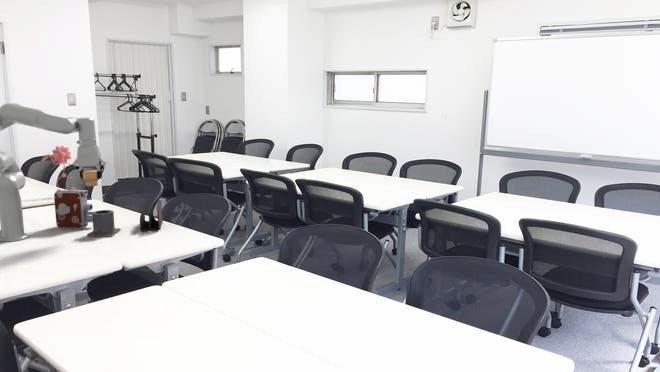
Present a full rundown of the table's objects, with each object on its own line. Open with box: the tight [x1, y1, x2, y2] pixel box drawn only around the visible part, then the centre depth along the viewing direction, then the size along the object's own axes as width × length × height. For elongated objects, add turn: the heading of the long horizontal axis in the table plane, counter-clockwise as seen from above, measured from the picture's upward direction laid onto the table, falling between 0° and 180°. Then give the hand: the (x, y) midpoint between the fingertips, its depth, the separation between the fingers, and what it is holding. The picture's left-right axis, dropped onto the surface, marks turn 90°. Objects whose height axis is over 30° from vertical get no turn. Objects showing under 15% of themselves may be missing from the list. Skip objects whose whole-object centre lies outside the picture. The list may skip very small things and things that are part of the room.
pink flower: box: [41, 145, 77, 198], centre depth 350 cm, size 15×26×35 cm, turn 136°
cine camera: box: [53, 189, 94, 229], centre depth 268 cm, size 9×19×20 cm, turn 89°
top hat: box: [86, 209, 121, 238], centre depth 257 cm, size 12×12×11 cm
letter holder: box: [139, 199, 163, 233], centre depth 271 cm, size 10×20×14 cm, turn 14°
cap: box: [82, 169, 100, 187], centre depth 251 cm, size 7×7×7 cm
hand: (91, 178), depth 251 cm, fingers closed on cap, 7 cm apart
